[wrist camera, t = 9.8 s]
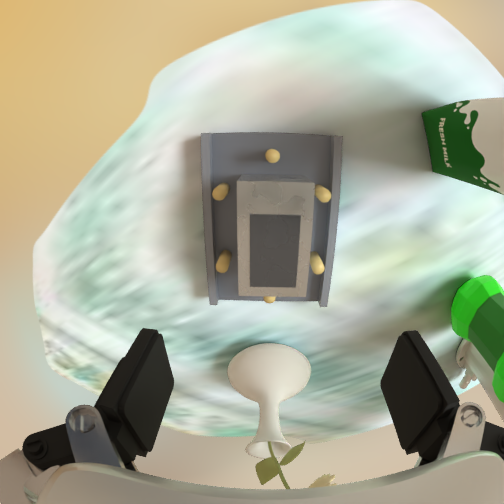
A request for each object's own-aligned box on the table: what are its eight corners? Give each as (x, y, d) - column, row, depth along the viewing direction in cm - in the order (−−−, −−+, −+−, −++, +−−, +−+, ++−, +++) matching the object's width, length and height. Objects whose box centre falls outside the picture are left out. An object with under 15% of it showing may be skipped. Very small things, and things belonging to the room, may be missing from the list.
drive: (299, 270, 29) (306, 297, 24) (243, 269, 29) (238, 296, 24) (304, 175, 25) (315, 183, 20) (242, 174, 25) (236, 181, 20)
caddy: (323, 296, 31) (330, 315, 27) (213, 294, 32) (206, 313, 28) (336, 137, 24) (348, 135, 21) (205, 134, 25) (196, 132, 21)
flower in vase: (273, 398, 39) (272, 544, 16) (213, 368, 37) (180, 532, 13) (334, 353, 35) (372, 524, 11) (272, 312, 32) (273, 530, 9)
